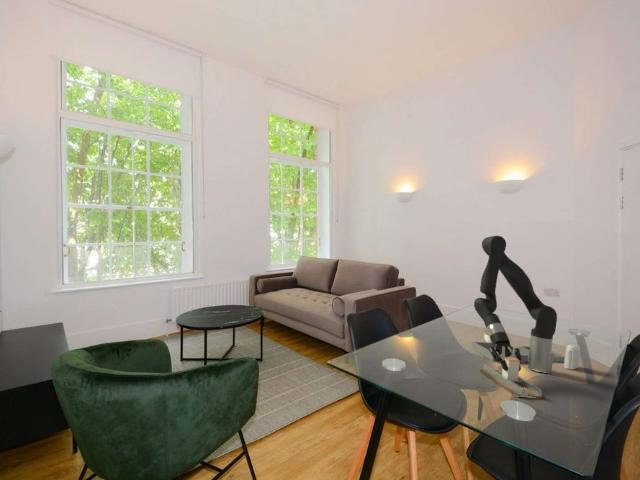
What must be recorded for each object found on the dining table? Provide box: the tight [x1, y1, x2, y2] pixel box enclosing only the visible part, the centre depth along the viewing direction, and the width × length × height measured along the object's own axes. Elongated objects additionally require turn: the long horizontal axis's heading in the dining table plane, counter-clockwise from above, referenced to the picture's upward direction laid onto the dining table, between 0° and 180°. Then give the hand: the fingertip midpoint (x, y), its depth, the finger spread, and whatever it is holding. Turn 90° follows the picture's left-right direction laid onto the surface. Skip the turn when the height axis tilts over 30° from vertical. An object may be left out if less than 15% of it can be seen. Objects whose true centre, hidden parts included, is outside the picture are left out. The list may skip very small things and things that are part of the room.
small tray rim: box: [518, 345, 565, 363], centre depth 191 cm, size 16×16×3 cm
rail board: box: [479, 363, 546, 400], centre depth 146 cm, size 12×26×4 cm, turn 6°
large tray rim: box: [471, 341, 529, 362], centre depth 186 cm, size 20×20×4 cm
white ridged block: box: [563, 343, 581, 370], centre depth 175 cm, size 10×4×12 cm, turn 123°
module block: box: [502, 357, 521, 381], centre depth 146 cm, size 5×4×9 cm
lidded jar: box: [483, 330, 492, 343], centre depth 205 cm, size 11×11×9 cm
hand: (512, 370), depth 145 cm, fingers open, 5 cm apart
